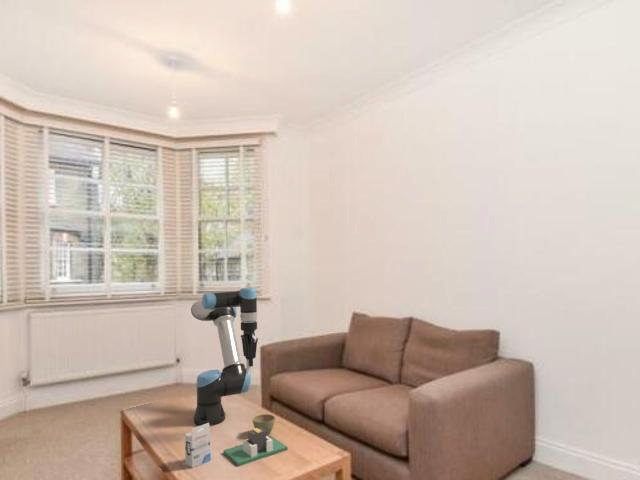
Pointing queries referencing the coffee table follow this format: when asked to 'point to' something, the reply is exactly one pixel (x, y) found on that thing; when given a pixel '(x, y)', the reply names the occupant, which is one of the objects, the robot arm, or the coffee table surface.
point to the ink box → (197, 446)
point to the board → (253, 451)
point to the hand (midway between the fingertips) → (249, 372)
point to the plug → (258, 438)
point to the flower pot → (264, 422)
